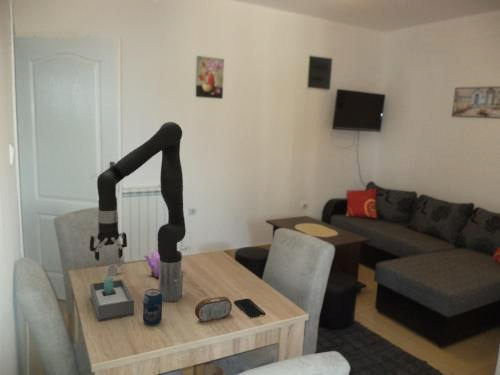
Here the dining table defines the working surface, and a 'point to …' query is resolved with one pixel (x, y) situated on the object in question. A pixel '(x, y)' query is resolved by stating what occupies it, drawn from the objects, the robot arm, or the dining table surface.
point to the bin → (112, 301)
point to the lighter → (114, 268)
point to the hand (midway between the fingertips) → (108, 258)
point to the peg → (108, 286)
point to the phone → (249, 307)
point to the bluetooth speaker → (213, 309)
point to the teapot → (154, 262)
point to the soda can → (152, 307)
